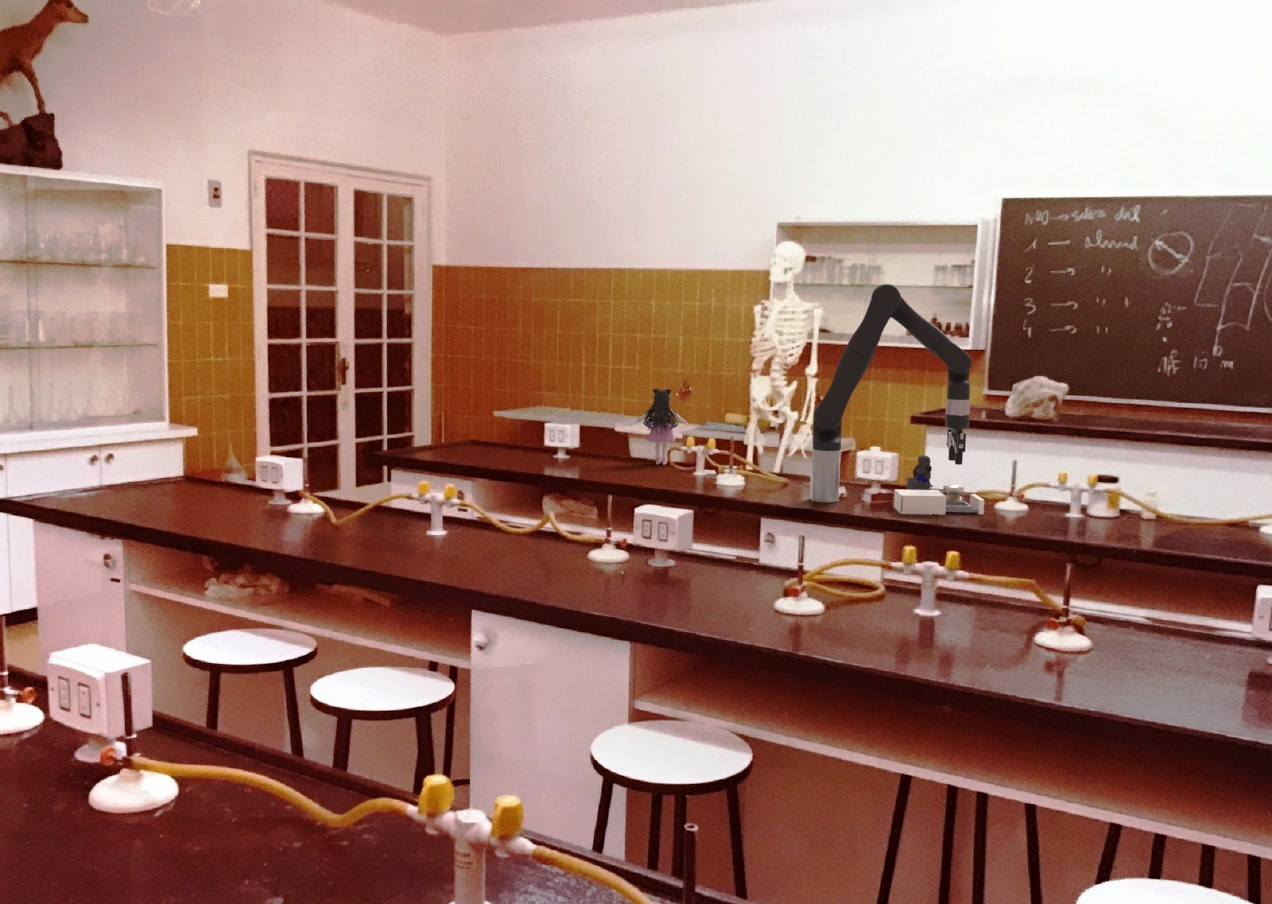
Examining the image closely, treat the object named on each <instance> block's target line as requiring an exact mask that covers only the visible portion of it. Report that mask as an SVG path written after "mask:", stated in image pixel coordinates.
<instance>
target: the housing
mask: <svg viewBox="0 0 1272 904" xmlns="http://www.w3.org/2000/svg"><path fill="white" fill-rule="evenodd" d="M893 509H895V510H896V511H897V512H898V513H899V514H900V515H932V514H935V515H936V514H937V515H938V516H939V515H942V516H945V515H946V512H945V511H946V495H945V494H944V493H942V492H941V491H940V490H938V489H930V490H906V489H894V495H893Z"/></svg>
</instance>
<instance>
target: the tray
mask: <svg viewBox="0 0 1272 904" xmlns="http://www.w3.org/2000/svg"><path fill="white" fill-rule="evenodd" d="M969 498H970V500H969V503H968V502H967V501H965V500H963V501H961V500H960V501H946V511H945V513H946V512H947V513H950V512H951V513H976V514H977V515H984V513H985V512H984V511H985V499H983V498H982V497H980V496H979V495H977V494H976V493H971V494H970V497H969Z"/></svg>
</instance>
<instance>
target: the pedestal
mask: <svg viewBox="0 0 1272 904" xmlns="http://www.w3.org/2000/svg"><path fill="white" fill-rule="evenodd" d="M945 494H946V495H945V496H946V501H961V493H950V492H945Z"/></svg>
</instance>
